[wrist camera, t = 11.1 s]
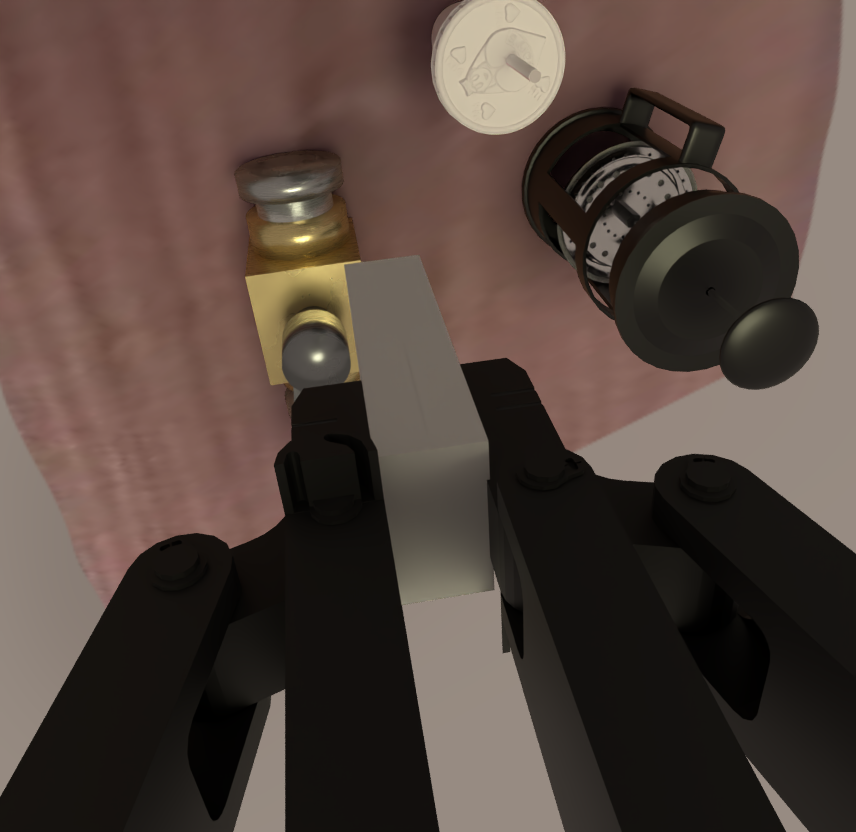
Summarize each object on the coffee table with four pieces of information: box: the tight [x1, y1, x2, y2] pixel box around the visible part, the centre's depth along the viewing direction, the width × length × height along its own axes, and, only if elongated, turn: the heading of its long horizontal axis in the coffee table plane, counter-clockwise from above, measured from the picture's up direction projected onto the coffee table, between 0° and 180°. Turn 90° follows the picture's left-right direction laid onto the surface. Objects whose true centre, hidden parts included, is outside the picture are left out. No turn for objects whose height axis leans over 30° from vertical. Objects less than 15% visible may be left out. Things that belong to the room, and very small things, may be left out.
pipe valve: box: [234, 150, 361, 417], centre depth 48 cm, size 16×6×9 cm, turn 6°
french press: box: [522, 88, 819, 390], centre depth 41 cm, size 12×9×23 cm
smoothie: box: [431, 0, 565, 135], centre depth 40 cm, size 6×6×14 cm
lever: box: [282, 310, 351, 402], centre depth 46 cm, size 13×4×3 cm, turn 177°
